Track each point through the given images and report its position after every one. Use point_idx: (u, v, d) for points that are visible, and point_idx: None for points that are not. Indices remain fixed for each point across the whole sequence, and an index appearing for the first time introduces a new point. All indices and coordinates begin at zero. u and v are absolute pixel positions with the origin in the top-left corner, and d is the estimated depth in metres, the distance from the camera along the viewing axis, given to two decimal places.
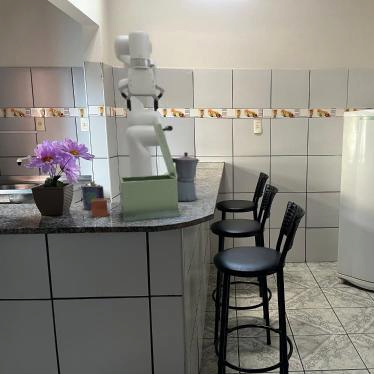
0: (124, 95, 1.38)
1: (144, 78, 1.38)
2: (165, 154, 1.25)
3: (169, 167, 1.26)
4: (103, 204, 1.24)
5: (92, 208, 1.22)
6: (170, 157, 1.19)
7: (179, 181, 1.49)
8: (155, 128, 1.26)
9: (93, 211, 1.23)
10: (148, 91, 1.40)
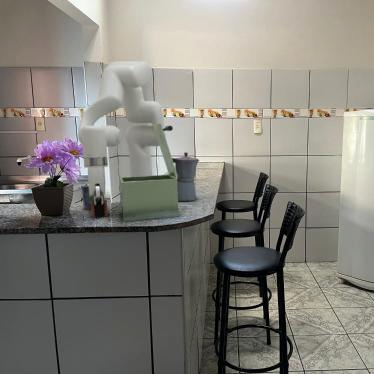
0: (101, 200, 1.21)
1: None
2: (165, 154, 1.25)
3: (169, 167, 1.26)
4: None
5: (92, 208, 1.22)
6: (170, 157, 1.19)
7: (179, 181, 1.49)
8: (155, 128, 1.26)
9: (93, 211, 1.23)
10: None
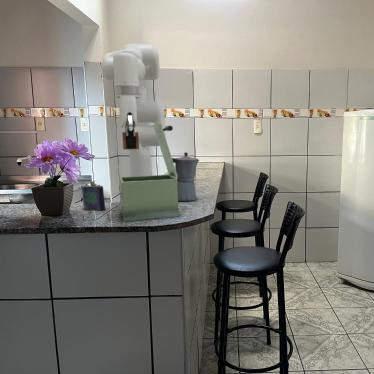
0: None
1: None
2: (165, 154, 1.25)
3: (169, 167, 1.26)
4: None
5: (123, 139, 1.19)
6: (170, 157, 1.19)
7: (179, 181, 1.49)
8: (155, 128, 1.26)
9: (124, 143, 1.19)
10: None
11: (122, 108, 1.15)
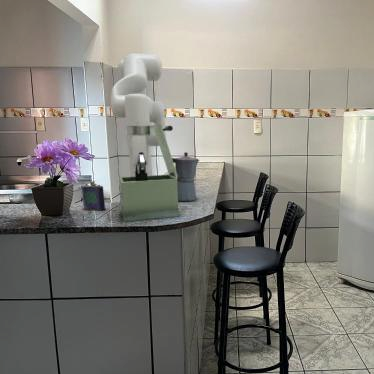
0: None
1: None
2: (165, 154, 1.25)
3: (169, 167, 1.26)
4: None
5: None
6: (170, 157, 1.19)
7: (179, 181, 1.49)
8: (155, 128, 1.26)
9: None
10: None
11: (134, 148, 1.17)
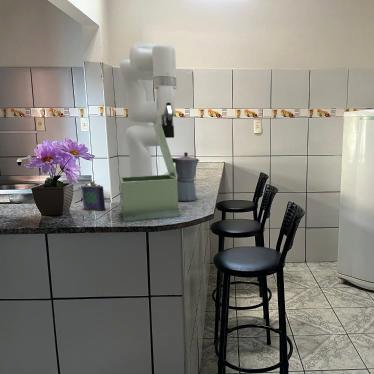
0: None
1: None
2: (165, 154, 1.25)
3: (169, 167, 1.26)
4: None
5: None
6: (170, 157, 1.19)
7: (179, 181, 1.49)
8: (155, 128, 1.26)
9: None
10: None
11: (161, 98, 1.18)
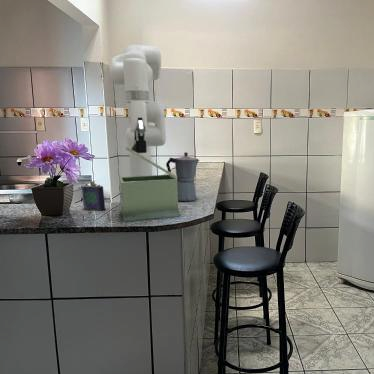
0: None
1: None
2: None
3: None
4: None
5: None
6: (158, 166, 1.18)
7: (179, 181, 1.49)
8: None
9: None
10: (144, 128, 1.24)
11: (132, 113, 1.15)
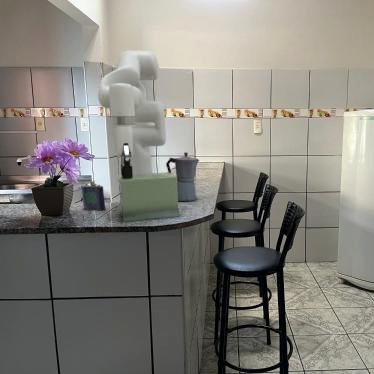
0: None
1: None
2: None
3: None
4: None
5: None
6: (155, 178, 1.18)
7: (179, 181, 1.49)
8: None
9: None
10: None
11: (118, 139, 1.15)
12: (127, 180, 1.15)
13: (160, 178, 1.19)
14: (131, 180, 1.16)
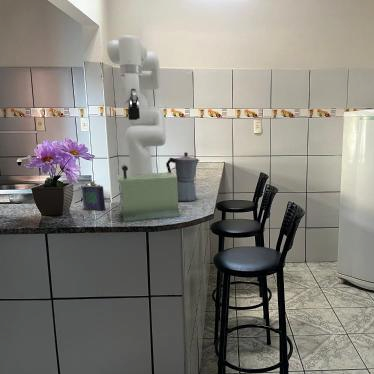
0: None
1: None
2: None
3: None
4: None
5: None
6: (155, 178, 1.18)
7: (179, 181, 1.49)
8: None
9: None
10: None
11: (126, 85, 1.28)
12: (127, 180, 1.15)
13: (160, 178, 1.19)
14: (131, 180, 1.16)
